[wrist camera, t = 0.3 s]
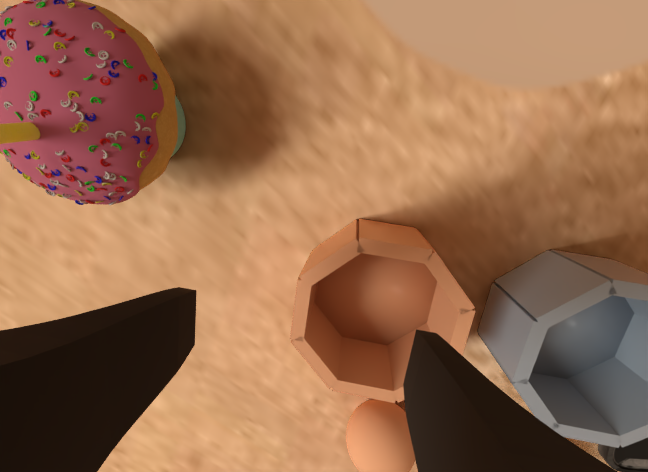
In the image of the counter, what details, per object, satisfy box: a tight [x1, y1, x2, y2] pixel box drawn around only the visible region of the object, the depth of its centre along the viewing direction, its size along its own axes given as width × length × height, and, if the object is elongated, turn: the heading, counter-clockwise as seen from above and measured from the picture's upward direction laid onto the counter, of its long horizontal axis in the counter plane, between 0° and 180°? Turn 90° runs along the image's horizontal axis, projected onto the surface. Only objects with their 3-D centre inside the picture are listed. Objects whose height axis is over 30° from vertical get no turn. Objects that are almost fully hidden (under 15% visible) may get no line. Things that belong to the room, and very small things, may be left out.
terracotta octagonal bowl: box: [290, 219, 475, 403], centre depth 17 cm, size 8×8×4 cm
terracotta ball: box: [346, 399, 415, 472], centre depth 19 cm, size 4×4×4 cm
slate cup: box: [478, 249, 648, 448], centre depth 16 cm, size 8×8×4 cm
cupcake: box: [0, 0, 186, 205], centre depth 13 cm, size 9×8×12 cm
